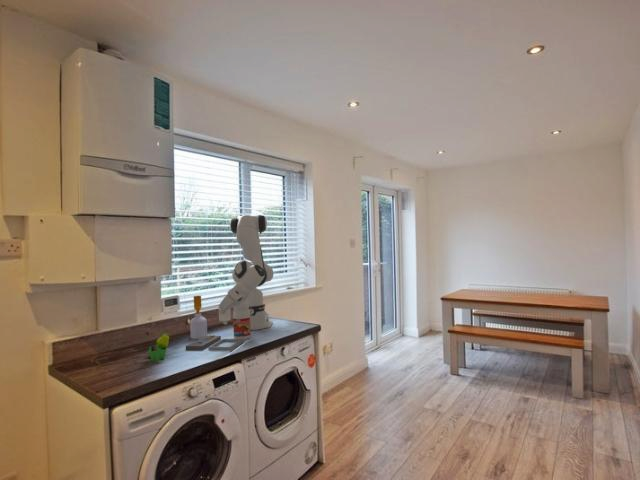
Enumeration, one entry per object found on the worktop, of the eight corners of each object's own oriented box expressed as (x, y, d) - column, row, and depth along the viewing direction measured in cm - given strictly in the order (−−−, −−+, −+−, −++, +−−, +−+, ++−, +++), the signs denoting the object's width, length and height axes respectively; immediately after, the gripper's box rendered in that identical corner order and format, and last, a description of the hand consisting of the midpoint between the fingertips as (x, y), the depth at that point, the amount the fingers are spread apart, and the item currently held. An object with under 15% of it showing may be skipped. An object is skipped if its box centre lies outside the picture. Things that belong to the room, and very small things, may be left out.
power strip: (205, 341, 203) (205, 334, 203) (221, 341, 201) (220, 334, 201) (185, 352, 183) (185, 344, 183) (202, 352, 181) (202, 344, 181)
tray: (222, 343, 196) (222, 338, 196) (243, 343, 194) (243, 338, 194) (208, 352, 181) (208, 347, 181) (230, 352, 178) (230, 347, 178)
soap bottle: (190, 341, 204) (188, 297, 204) (191, 337, 213) (189, 295, 213) (207, 339, 207) (205, 295, 207) (207, 335, 216) (205, 293, 216)
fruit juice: (254, 337, 207) (251, 287, 207) (246, 341, 198) (243, 289, 198) (239, 336, 210) (237, 287, 210) (230, 340, 201) (228, 289, 201)
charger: (223, 323, 190) (222, 303, 190) (231, 323, 189) (230, 303, 189) (219, 325, 186) (218, 305, 186) (227, 325, 185) (226, 305, 185)
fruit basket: (150, 356, 178) (149, 333, 178) (170, 353, 181) (169, 330, 182) (148, 363, 168) (147, 338, 168) (169, 360, 171) (168, 336, 171)
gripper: (244, 285, 196) (228, 304, 198) (227, 290, 176) (209, 311, 178) (252, 293, 195) (236, 312, 197) (236, 299, 175) (218, 320, 177)
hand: (223, 312), depth 188 cm, fingers closed on charger, 4 cm apart
